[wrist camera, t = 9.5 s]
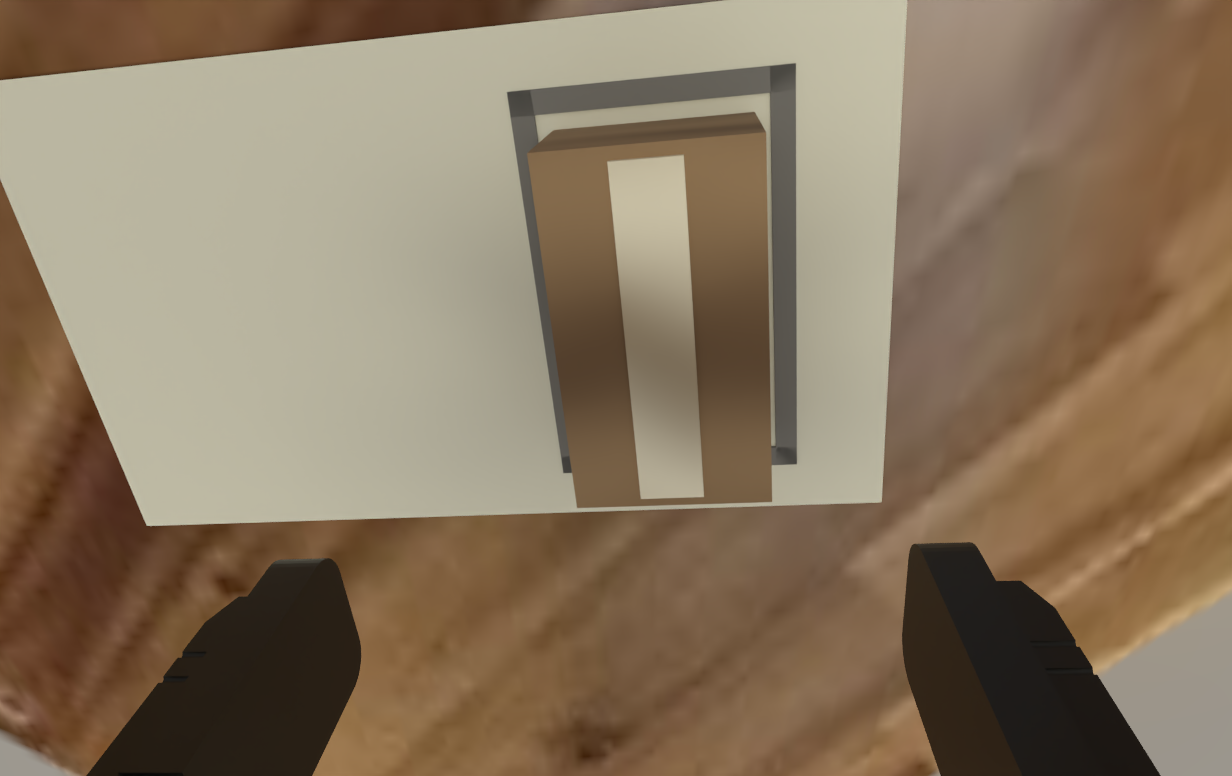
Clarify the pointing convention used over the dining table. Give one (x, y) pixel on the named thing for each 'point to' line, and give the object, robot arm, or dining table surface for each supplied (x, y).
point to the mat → (436, 252)
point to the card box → (660, 307)
